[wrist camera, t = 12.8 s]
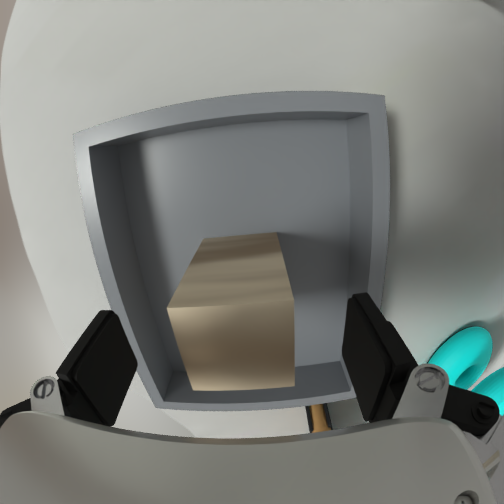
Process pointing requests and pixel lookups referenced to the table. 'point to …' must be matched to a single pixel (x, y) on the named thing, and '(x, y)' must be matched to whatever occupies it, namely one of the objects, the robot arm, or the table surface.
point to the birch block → (236, 315)
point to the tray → (241, 222)
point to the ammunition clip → (318, 418)
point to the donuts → (471, 363)
